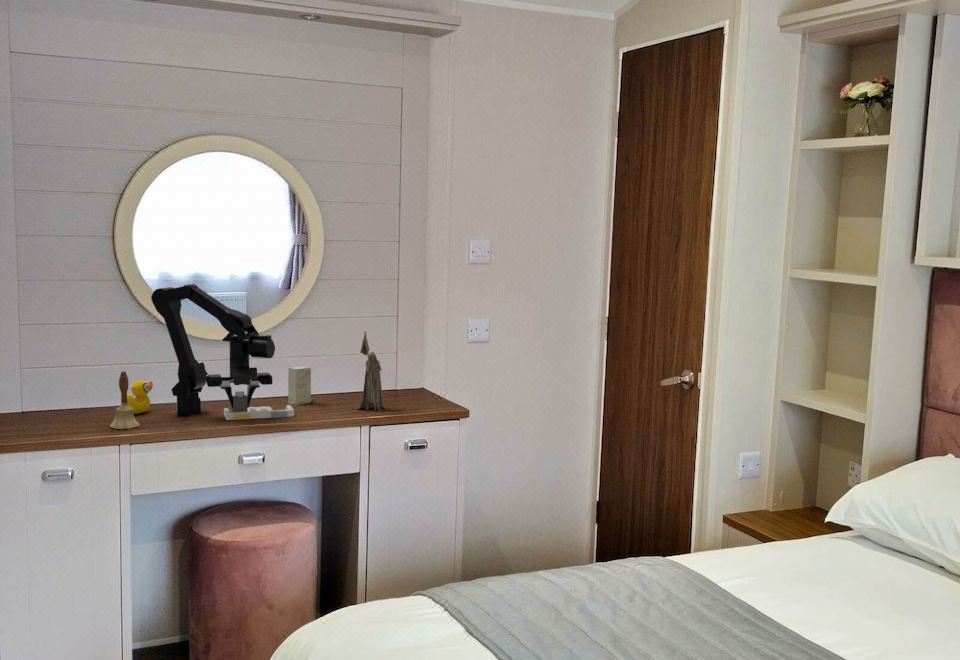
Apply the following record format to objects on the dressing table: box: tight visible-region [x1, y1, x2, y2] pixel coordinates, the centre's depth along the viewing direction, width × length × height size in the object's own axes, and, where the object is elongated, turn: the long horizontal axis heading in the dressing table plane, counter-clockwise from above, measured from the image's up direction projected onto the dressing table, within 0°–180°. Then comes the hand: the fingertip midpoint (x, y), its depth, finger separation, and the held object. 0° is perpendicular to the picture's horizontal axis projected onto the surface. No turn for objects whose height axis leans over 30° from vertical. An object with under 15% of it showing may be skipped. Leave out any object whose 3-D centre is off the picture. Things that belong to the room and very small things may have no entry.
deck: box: [247, 406, 273, 412], centre depth 294 cm, size 10×7×1 cm
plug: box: [231, 390, 248, 412], centre depth 284 cm, size 4×4×6 cm
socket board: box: [223, 404, 295, 421], centre depth 284 cm, size 20×11×2 cm, turn 110°
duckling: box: [127, 379, 154, 415], centre depth 288 cm, size 11×5×10 cm, turn 158°
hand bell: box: [109, 370, 141, 429], centre depth 269 cm, size 8×8×16 cm
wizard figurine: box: [354, 331, 386, 412], centre depth 300 cm, size 10×8×25 cm
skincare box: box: [287, 365, 312, 406], centre depth 306 cm, size 6×4×12 cm
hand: (239, 407), depth 284 cm, fingers closed on plug, 4 cm apart
